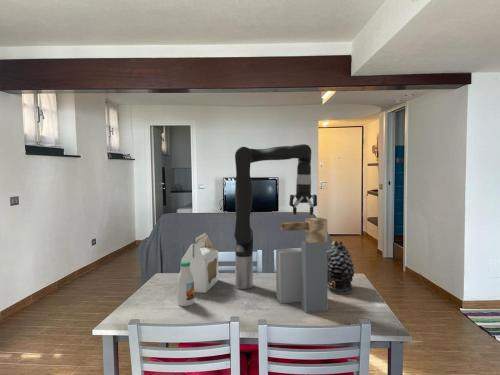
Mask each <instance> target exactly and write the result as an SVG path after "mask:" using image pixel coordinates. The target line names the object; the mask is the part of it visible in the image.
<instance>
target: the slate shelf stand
mask: <svg viewBox="0 0 500 375" xmlns="http://www.w3.org/2000/svg"><path fill="white" fill-rule="evenodd" d="M300 246H301V247H296V248H293V247H292V248H276V249H275V268H276V270H275V278H276V279H275V280H276V284H275V286H276V288H275V289H276V292H275V293H276V299H277V300H278V302H279V303H280V304H289V303H301V309H302V310H303V311H304V312H305V313H306V314H309V313H319V312H328V309H329V308H328V306H329V305H328V296H329V294H328V290H329V289H328V285H327V252H328V241H327V242H315V243H310V242H308V241H306V240H305V239H304V240H303V239H302V240H301V241H300Z"/></svg>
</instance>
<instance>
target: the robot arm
mask: <svg viewBox="0 0 500 375" xmlns="http://www.w3.org/2000/svg"><path fill="white" fill-rule="evenodd" d="M292 159H297V168H296V171H297V172H296V183H295V184H296V185H295V186H296V187H295V190H296V192H295V194H289V203H288V205H289V206H290V207H292V213H293V215H295V216H296V215H297V208H298V207H297V206H298V205H300V204H304V203H305V204H308V206H309V215H311V216H312V215H313V214H314V208H315V207H317V206H318V196H317V194H312V176H311V175H312V166H311V161H312V148H311V147H310V145H308V144H296V145H295V144H294V145H285V146H284V145H283V146H282V145H281V146H273V147H267V148H249V147H247V146H240V147H238V148H237V149H236V151H235V153H234V160H235V162H234V163H235V171H236V173H235V174H236V175H235V190H234V192H235V193H234V195H235V196H234V202H235V204H234V205H235V206H234V207H235V226H234V239H235V241H236V245H235V251H234V252H235V269H234V273H235V274H234V276H235V280H234V281H235V283H234V284H235V288H236V290H238V289H240V290H249V289H252V288H253V287H254V270H253V269H254V267H253V266H254V265H253V264H254V262H253V259H254V258H253V257H254V256H253V252H254V250H253V249H254V231H253V229H252V227H251V222H250V221H251V212H252V208H253V207H252V206H253V190H254V189H253V184H252V179H251V164H252V163H256V162H262V161H263V162H264V161H285V160H292ZM294 199H296V200H295V201H294ZM311 199H312V201H311Z"/></svg>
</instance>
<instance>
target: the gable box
mask: <svg viewBox="0 0 500 375" xmlns="http://www.w3.org/2000/svg"><path fill="white" fill-rule="evenodd" d="M183 261H189V262H190V271H191V273H192V275H193V279H194V293H201V294H202V293H203V294H206V293H207V292H208V291H210V289H211V288H212V287H213V286H214V285H216V283H217V282H218V281H219V250H218V249H217V247H216V246H215V245H214V243H213V242H212V241H211V239H210V238H209V234H207V233H206V232H203V233H202V234H199V235H198V236H196V237H194V242H193V243H191V244H190V245H189V247H188V248H187V250H186V252H185V253H184V255H183V256H182V258H181V262H183Z"/></svg>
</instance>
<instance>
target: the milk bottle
mask: <svg viewBox="0 0 500 375" xmlns="http://www.w3.org/2000/svg"><path fill="white" fill-rule="evenodd" d="M179 264H180V265H179V266H180V272H179V274H178V275H177V276H178V277H177V282H176V283H177V304H178V306H180V307H190V306H192V305H194V303H195V292H194V279H193V275H192V273H191V271H190V262H189V261H183V262H182V261H181V262H180V263H179Z"/></svg>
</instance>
